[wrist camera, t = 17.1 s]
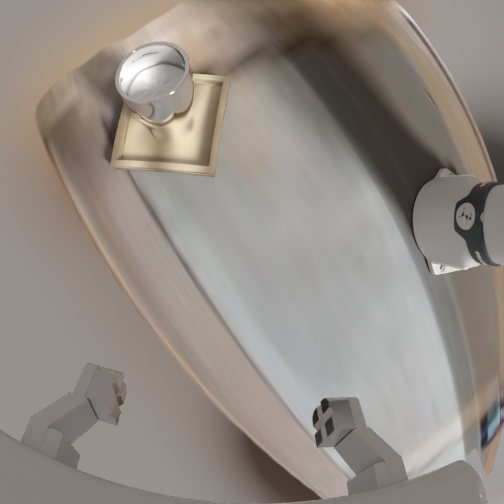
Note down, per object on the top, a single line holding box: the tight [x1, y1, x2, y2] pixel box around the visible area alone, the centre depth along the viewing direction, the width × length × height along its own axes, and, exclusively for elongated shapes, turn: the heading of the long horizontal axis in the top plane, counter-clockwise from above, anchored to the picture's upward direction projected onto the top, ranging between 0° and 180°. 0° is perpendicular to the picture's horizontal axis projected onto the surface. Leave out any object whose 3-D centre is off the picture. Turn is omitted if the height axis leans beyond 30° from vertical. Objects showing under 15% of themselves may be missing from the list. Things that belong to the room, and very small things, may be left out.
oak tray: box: [110, 74, 230, 177], centre depth 33 cm, size 14×14×3 cm
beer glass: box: [115, 42, 196, 144], centre depth 26 cm, size 7×7×15 cm
